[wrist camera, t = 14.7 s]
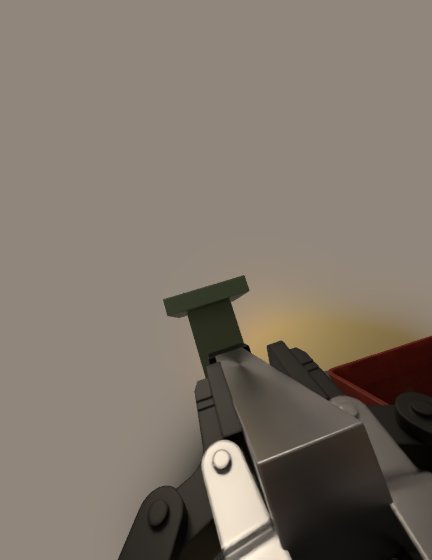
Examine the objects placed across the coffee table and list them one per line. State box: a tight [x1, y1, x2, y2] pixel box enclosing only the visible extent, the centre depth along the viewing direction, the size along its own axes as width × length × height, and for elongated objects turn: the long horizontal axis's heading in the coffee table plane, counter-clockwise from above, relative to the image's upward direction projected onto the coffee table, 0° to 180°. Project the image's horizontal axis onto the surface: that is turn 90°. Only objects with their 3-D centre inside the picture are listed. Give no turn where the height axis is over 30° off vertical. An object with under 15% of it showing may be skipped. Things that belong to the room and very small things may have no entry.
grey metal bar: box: [208, 343, 407, 560], centre depth 13 cm, size 18×4×2 cm, turn 4°
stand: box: [163, 275, 263, 499], centre depth 32 cm, size 14×10×32 cm
